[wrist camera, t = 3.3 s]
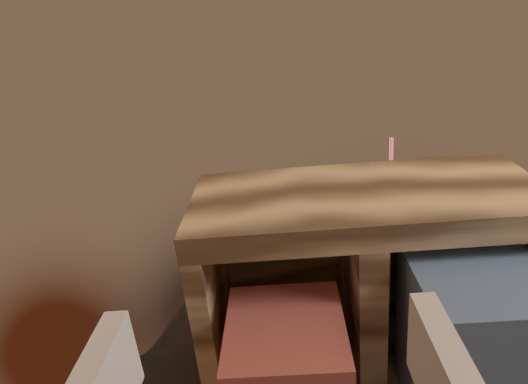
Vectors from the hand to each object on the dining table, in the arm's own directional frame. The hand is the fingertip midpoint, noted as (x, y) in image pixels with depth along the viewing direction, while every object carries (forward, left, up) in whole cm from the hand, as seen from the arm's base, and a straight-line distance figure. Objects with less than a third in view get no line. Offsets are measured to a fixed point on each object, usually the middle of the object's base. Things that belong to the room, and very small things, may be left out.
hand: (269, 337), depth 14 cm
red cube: (+13, 0, -19) cm, 23 cm away
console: (+20, -6, -20) cm, 29 cm away
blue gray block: (+13, -12, -19) cm, 26 cm away
